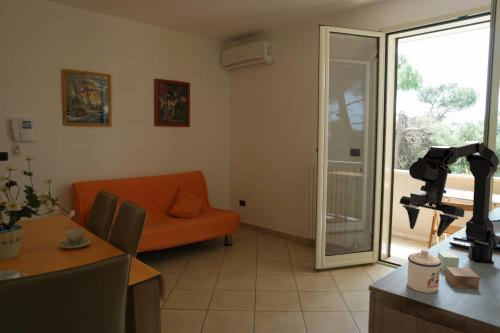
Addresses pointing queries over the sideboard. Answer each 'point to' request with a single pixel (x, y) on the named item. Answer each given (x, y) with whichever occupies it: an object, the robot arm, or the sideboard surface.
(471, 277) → the walnut block
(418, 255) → the teacup with lid
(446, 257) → the green cube
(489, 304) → the sideboard surface
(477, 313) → the sideboard surface
